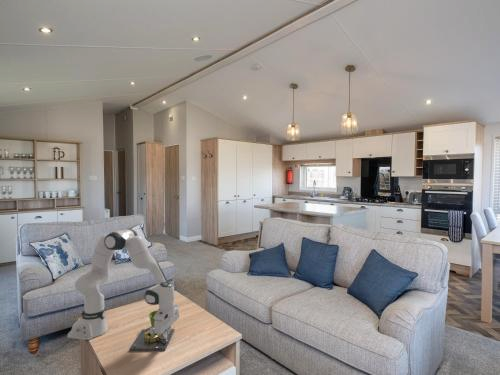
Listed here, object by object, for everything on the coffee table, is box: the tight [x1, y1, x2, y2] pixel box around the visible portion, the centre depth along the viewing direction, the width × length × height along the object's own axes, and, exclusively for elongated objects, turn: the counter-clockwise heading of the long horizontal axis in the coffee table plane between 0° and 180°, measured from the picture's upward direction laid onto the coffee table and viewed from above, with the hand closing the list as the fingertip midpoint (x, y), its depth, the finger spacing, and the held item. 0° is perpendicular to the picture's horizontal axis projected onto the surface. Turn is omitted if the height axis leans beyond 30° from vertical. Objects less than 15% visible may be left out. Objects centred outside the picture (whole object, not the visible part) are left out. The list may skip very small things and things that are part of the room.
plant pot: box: [148, 309, 158, 327], centre depth 189 cm, size 9×9×9 cm
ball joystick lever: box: [144, 330, 167, 343], centre depth 172 cm, size 16×10×6 cm, turn 62°
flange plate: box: [129, 326, 175, 352], centre depth 173 cm, size 20×20×8 cm
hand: (167, 333), depth 171 cm, fingers closed
